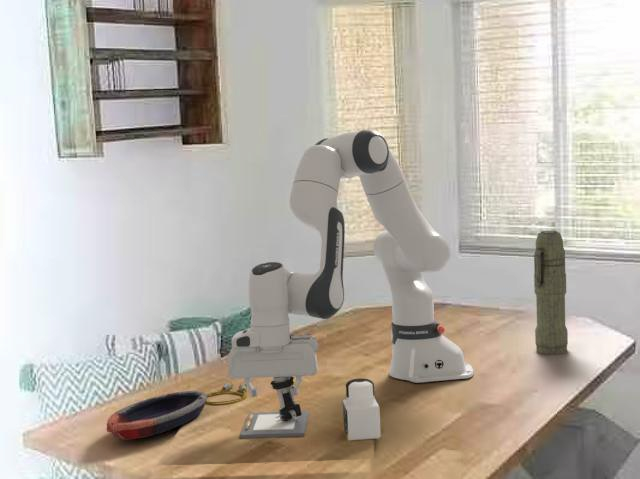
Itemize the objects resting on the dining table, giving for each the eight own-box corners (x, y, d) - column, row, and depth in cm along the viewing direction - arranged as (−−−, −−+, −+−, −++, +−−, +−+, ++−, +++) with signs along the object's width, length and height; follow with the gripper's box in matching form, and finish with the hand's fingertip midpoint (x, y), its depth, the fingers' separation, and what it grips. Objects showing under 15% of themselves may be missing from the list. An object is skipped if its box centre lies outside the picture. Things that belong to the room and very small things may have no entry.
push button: (284, 424, 199) (274, 381, 198) (270, 423, 203) (260, 380, 202) (307, 414, 203) (297, 372, 202) (292, 413, 207) (283, 372, 206)
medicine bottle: (344, 430, 197) (341, 377, 196) (376, 428, 197) (373, 375, 196) (347, 441, 190) (345, 386, 188) (381, 438, 190) (378, 383, 189)
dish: (225, 411, 216) (224, 391, 216) (131, 450, 191) (130, 428, 191) (179, 403, 225) (177, 384, 225) (83, 440, 200) (81, 418, 200)
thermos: (576, 350, 258) (574, 229, 254) (554, 359, 249) (551, 234, 246) (549, 346, 264) (546, 228, 260) (527, 354, 256) (524, 233, 252)
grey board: (308, 413, 210) (308, 407, 210) (304, 435, 195) (303, 429, 194) (249, 415, 211) (249, 409, 211) (240, 438, 195) (239, 431, 195)
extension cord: (266, 393, 231) (265, 385, 231) (223, 409, 219) (223, 401, 219) (232, 387, 239) (231, 379, 239) (189, 402, 227) (188, 394, 226)
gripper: (317, 330, 203) (321, 389, 205) (228, 334, 204) (232, 393, 206) (316, 336, 197) (319, 397, 199) (224, 340, 198) (228, 401, 200)
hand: (274, 395), depth 202 cm, fingers open, 8 cm apart
